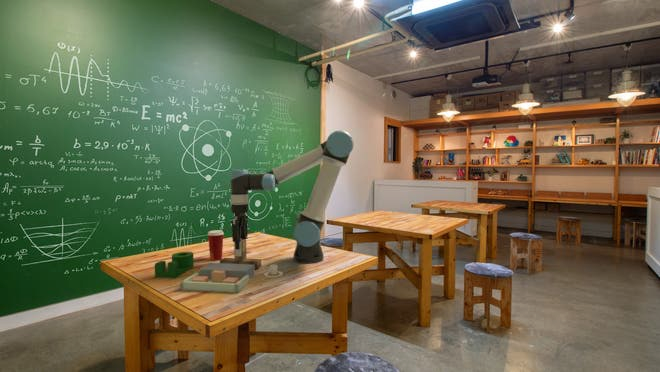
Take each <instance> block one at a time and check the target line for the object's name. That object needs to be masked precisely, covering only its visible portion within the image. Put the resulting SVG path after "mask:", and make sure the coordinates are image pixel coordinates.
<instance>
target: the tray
mask: <svg viewBox="0 0 660 372" xmlns="http://www.w3.org/2000/svg"><path fill="white" fill-rule="evenodd" d="M197 276H199V272H195V273H193V274H191V275H190V276H189V277H187V278H185V279H184V280H183V279H182V280H181V281H180V282H179V285H180V287H179V289H180V291H188V292H189V291H191V292H192V291H193V292H194V291H195V292H210V293H211V292H214V293H226V294H227V293H230V294H239V293H240V292H241V291H242V290H243V289H244V288H245V287H247V285H249V283H250V280H249V275H246V276H244V277H243V278H242V279H241V280H240V281H238V282H237V283H236V284H233V283H212V280H211V279H208V282H192V281H191V280H192V279H193V278H195V277H197Z"/></svg>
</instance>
